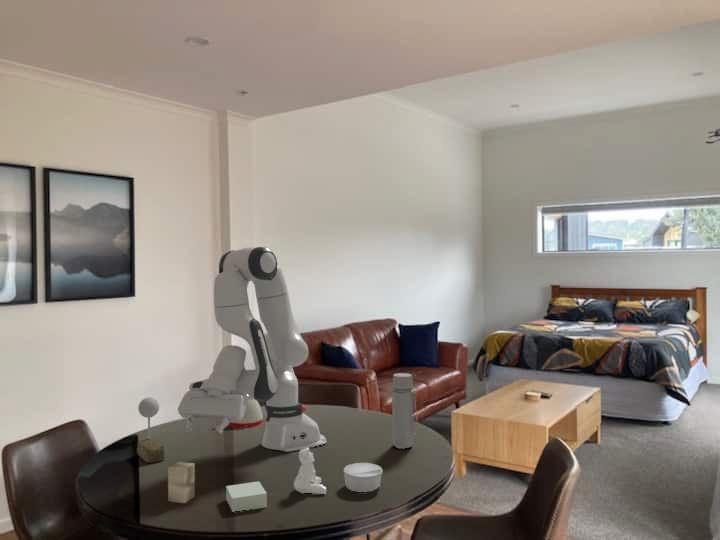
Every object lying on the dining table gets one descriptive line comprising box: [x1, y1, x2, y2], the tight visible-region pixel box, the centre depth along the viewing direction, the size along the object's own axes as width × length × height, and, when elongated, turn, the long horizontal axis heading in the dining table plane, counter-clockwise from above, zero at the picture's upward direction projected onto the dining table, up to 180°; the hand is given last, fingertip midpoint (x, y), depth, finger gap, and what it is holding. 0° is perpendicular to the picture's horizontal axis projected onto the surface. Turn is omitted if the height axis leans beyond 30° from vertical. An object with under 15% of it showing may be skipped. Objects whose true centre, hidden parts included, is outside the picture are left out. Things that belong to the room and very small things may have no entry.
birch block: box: [167, 461, 196, 504], centre depth 162 cm, size 5×5×9 cm
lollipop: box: [138, 397, 160, 440], centre depth 215 cm, size 7×7×15 cm
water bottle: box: [391, 372, 419, 446], centre depth 206 cm, size 9×8×25 cm
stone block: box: [136, 439, 165, 464], centre depth 195 cm, size 6×12×5 cm, turn 37°
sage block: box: [225, 481, 268, 513], centre depth 159 cm, size 9×9×4 cm
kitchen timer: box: [227, 400, 264, 428], centre depth 237 cm, size 14×14×15 cm
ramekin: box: [343, 462, 383, 492], centre depth 170 cm, size 11×11×5 cm
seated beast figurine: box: [293, 448, 327, 495], centre depth 168 cm, size 10×9×12 cm
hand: (203, 431), depth 173 cm, fingers open, 8 cm apart
